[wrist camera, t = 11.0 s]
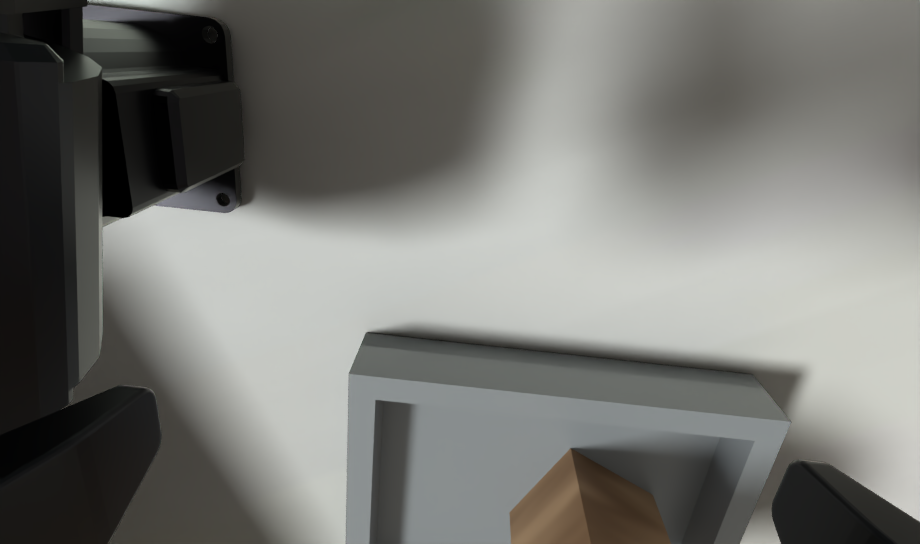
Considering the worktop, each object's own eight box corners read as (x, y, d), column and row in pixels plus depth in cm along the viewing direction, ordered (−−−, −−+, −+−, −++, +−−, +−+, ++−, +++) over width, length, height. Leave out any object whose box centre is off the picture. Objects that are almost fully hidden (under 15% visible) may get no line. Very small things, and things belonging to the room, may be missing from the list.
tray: (358, 569, 27) (344, 627, 25) (366, 332, 22) (348, 373, 19) (667, 602, 27) (687, 665, 24) (752, 374, 22) (791, 421, 19)
